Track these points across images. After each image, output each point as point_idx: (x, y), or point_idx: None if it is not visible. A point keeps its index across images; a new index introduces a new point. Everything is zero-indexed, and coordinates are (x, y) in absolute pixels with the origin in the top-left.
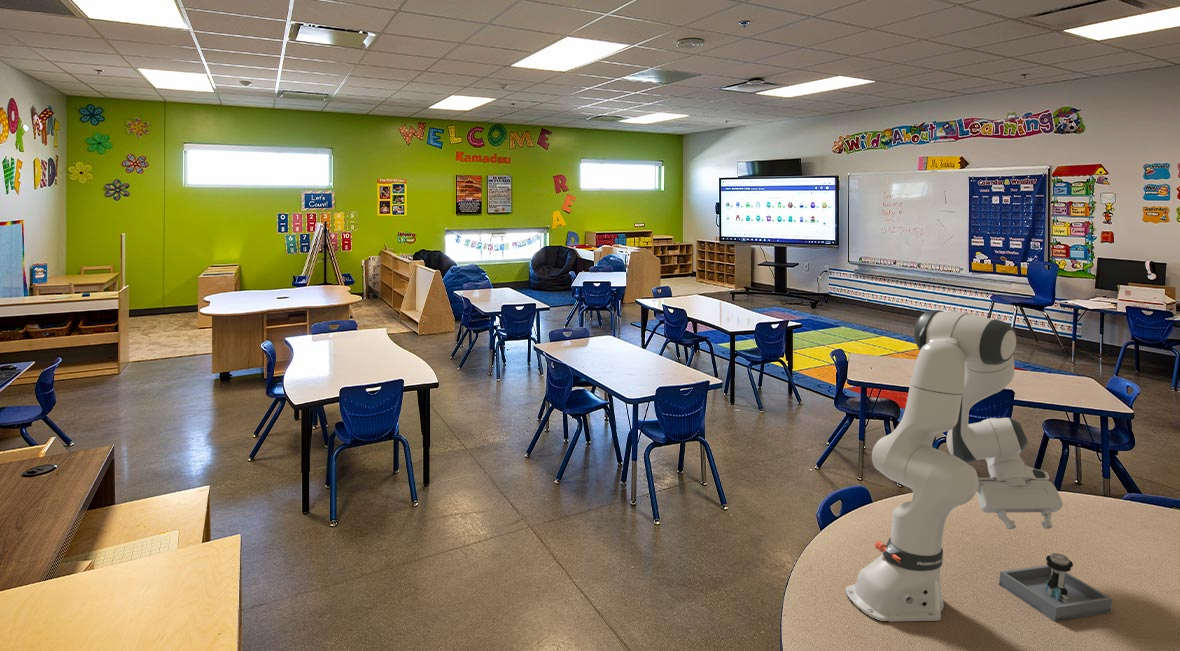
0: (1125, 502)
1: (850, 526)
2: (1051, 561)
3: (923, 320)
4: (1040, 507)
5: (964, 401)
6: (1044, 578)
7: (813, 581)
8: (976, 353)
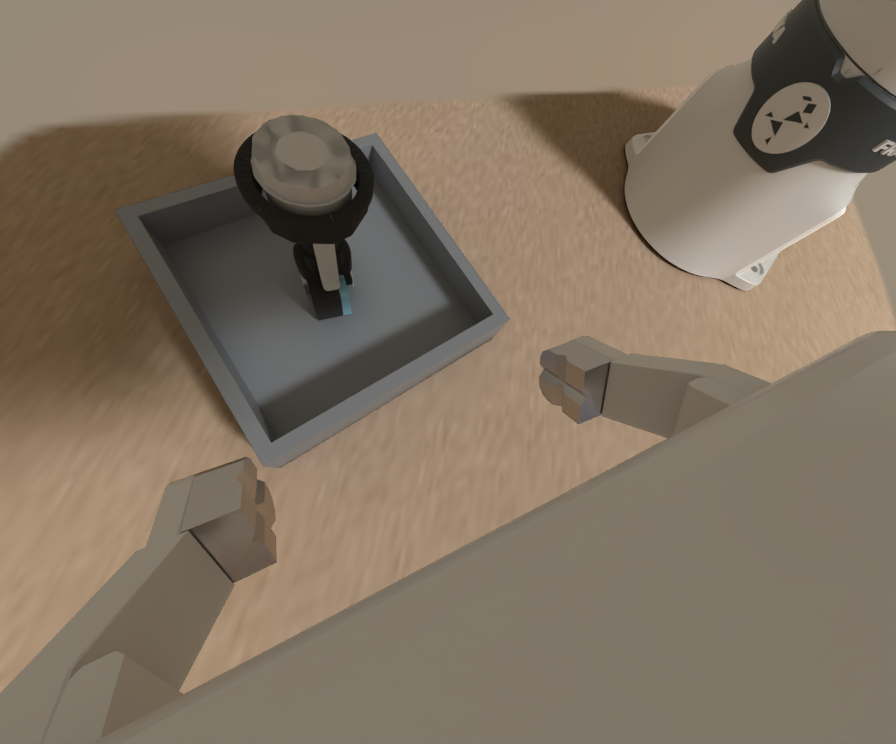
0: None
1: None
2: (356, 160)
3: None
4: (218, 686)
5: None
6: (326, 404)
7: (846, 241)
8: None
